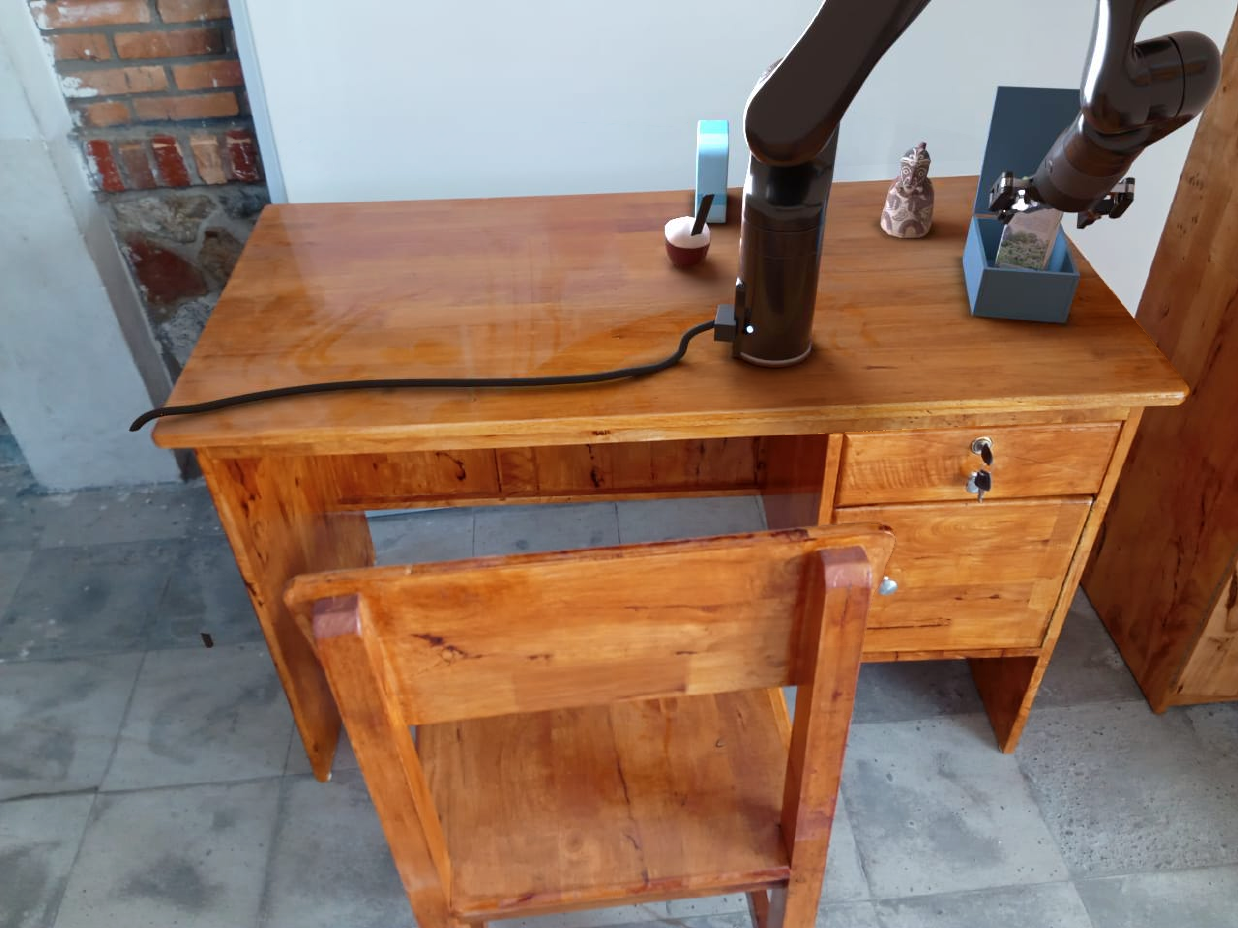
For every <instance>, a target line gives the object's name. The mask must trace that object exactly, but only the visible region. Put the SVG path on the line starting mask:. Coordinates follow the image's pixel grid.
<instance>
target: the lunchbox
mask: <svg viewBox="0 0 1238 928" xmlns="http://www.w3.org/2000/svg"><path fill="white" fill-rule="evenodd" d="M1004 227H1005V225H1002V224H1001V221H999V220H998V219H997V216H996V217H995V216H979V215H978V216H977V215H972V216H971V220H970V224H969V229H968V232H967V233H968V234H967V238H966V243H965V247H964V251H963V255H962V266H963V271H964V277H965V283H966V289H967V295H968V300H969V306H970V312H971V317H979V318H980V317H981V318H993V319H995V318H996V319H1006V320H1007V319H1008V320H1018V321H1019V320H1020V321H1032V322H1044V323H1045V322H1046V323H1059V324H1066V323H1067V319H1068V316H1069V313H1070V310H1071V307H1072V303H1073V300H1074V297H1075V294H1076V290H1077V287H1078V284H1079V281H1080V278H1081V274H1080V271H1079V269H1078V266H1077V263H1076V260H1075V258H1074V255H1073V252H1072V249H1071V246H1070V244H1069V241H1068V238H1067V236H1066V233H1065V230H1064V227H1063V225H1062V223H1061V224H1060V227H1059V230H1058V233H1057V237H1056V240H1055V244H1054V247H1053V250H1052V253H1051V257H1050V260H1049V264H1048V267H1047V271H1034V270H1019V269H1005V268H994V266H995V262H996V258H997V254H998V250H999V246H1000V242H1001V238H1002V234H1003V231H1004Z"/></svg>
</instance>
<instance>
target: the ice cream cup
mask: <svg viewBox="0 0 1238 928" xmlns="http://www.w3.org/2000/svg"><path fill="white" fill-rule="evenodd" d="M714 196H715V194H708V195H704V196H703V199H702V202H701V205H700V208H699V211H698V214H697V217H696V219H695V217H691V216H684V217H679V218H675V219H672V220H669V222H667V224H666V225H664V233H665V238H664V242H665V243H664V245H665V250H666V254H667V257H668V258H669V260H670V261H671V263H672V264H675V265H677V266H679V267H682V268H692V267H696V266H699V265H700V264H702V263H703V262H704V261H705V260H706V258H707V256H708V253H709V250H710V247H711V241H712V237H711V236H710V234H711V233H710V231H711V230H710V229H709V226H708V223H705V222H706V219H707V216H708V214H709V211H710V208H711V205H712V202H713V199H714Z"/></svg>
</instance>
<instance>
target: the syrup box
mask: <svg viewBox="0 0 1238 928" xmlns="http://www.w3.org/2000/svg"><path fill="white" fill-rule="evenodd" d="M1027 178H1028V177H1026V176H1025V177H1024V178H1023V179H1025V180H1027ZM1018 202H1019V197H1016V204H1018ZM1031 203H1035V202H1034V201H1033V200H1032V199H1031ZM1064 214H1065V212H1062V211H1059V210H1056V209H1054V208H1053V209H1049V210H1047V209H1042V210H1039V211H1035V212H1032V213H1029V214H1026V213H1024V212H1018V213H1015V215H1014V217H1013V218H1012V219H1011V221H1010V222H1009V224H1008V225H1005V227H1004V231H1003V234H1002V238H1001V242H1000V246H999V250H998V254H997V258H996V262H995V266H994V268H1005V269H1019V270H1034V271H1047V267H1048V264H1049V260H1050V257H1051V253H1052V250H1053V247H1054V244H1055V240H1056V237H1057V233H1058V230H1059V227H1060V224H1061V225H1062V220H1063V217H1064Z"/></svg>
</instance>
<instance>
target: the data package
mask: <svg viewBox="0 0 1238 928" xmlns="http://www.w3.org/2000/svg"><path fill="white" fill-rule="evenodd" d="M696 143H697V145H696V171H695V172H696V173H695V174H696V175H695V207H694V208H695V209H694V219H696V217H697V214H698V211H699V208H700V205H701V202H702V199H703V196H704V195H708V194H715V196H714V199H713V202H712V205H711V208H710V211H709V214H708V216H707V219H706V222H705V223H706V224H708V223H709V224H725V223H726V218H727V201H728V179H729V163H730V162H729V159H730V124H729V120H699V121H698V122H697V142H696Z"/></svg>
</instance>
